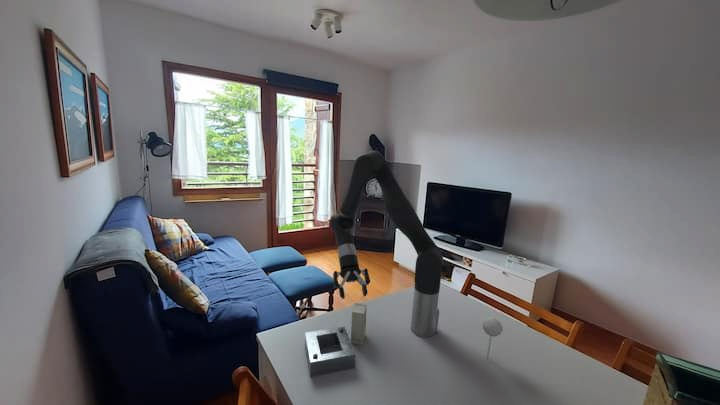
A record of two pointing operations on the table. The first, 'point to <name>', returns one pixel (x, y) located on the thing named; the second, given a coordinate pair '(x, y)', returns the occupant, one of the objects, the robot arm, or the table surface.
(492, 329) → the lollipop
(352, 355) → the housing
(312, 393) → the table surface
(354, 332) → the skincare box
